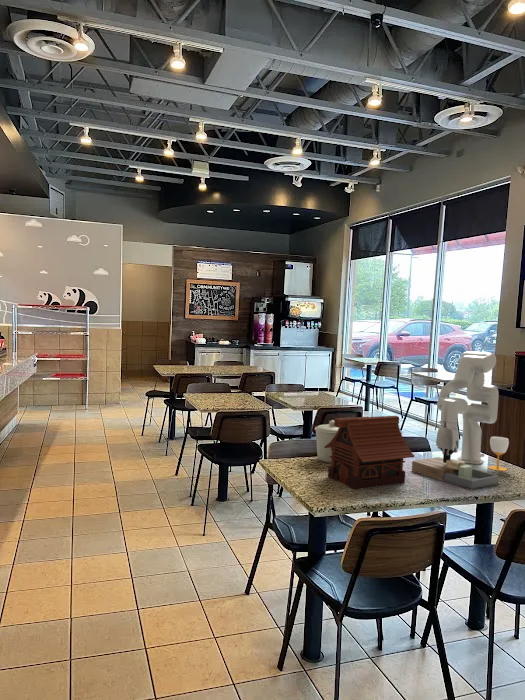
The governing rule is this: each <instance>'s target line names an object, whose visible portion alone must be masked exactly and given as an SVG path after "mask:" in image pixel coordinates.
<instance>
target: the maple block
mask: <svg viewBox="0 0 525 700" xmlns="http://www.w3.org/2000/svg"><path fill="white" fill-rule="evenodd" d="M465 464H466V463H465V462H463V461H459V460H458V459H457V458H456V459H455V458H454V459H453V458H452V459H450V460H446V467H449V468H453V469H456V470H458V469H459V466H464V465H465Z"/></svg>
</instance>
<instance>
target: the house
mask: <svg viewBox="0 0 525 700" xmlns="http://www.w3.org/2000/svg"><path fill="white" fill-rule="evenodd" d="M333 420H334V426H335V427H338V428H339V429H338V431H337V432H336V433H337V434H336V435H335V437H334V438H333V439H332V440H331V441H330V443H328V444H327V445H326V446H324V448H331V451H332V456H330V458H332V461H331V463H330V465H329V466H328V468H327V469H328V470H327V472H328V473H327V478H328V479H330V480H332V479H333V480H332V481H335V482H337V481H338V482H337V483H339V482H340V484H341V485H344V486H346V487H348V488H350V489H352V490H362V489H361V488H363V489H368V488H369V487H370V488H375V487H376V486H377V487H383V485H385V486H391V485H398V483H399V484H405V482H406V471H405V470H403V469H404V467H403V466H404V463H406V460H404V459H407V458H408V459H410V458H414V457H415V455H414V453H413V452H412V451H411V449H410V448H409V447H408V445H407V442H406V441H405V440H404V437H403V435H402V432H401V429H400V425H399V423H400V417H399V416H398V415H386V416H384V415H383V416H382V415H381V416H358V417H340V418H339V417H338V418H334V419H333ZM377 487H376V488H377Z"/></svg>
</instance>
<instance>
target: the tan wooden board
mask: <svg viewBox="0 0 525 700" xmlns="http://www.w3.org/2000/svg"><path fill="white" fill-rule="evenodd" d="M411 461H412V462H411V472H413V473H414V472H415V473H418V474H420V473H421V474H420V475H423V474H424V475H423V476H426V475H427V477H429V476H430V478H432V477H434V478H433V479H435V478H436V480H438V479H439V480H438V481H442V482H444V481H443V476H444V474H445V473H449V474H450V473H456V472H459V469H458V470H456V469H453V468H449V467H446V463H444V462H443V457H440V456H438V457H431V458H424V459H416V460H411ZM465 465H467V463H465Z"/></svg>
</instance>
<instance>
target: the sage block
mask: <svg viewBox="0 0 525 700" xmlns="http://www.w3.org/2000/svg"><path fill="white" fill-rule="evenodd" d="M472 469H473V466H472V465H469V464H466V465H464V466H459V473H458V476H459V477H462V478H466V479H469V480H470V479H472Z"/></svg>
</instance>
